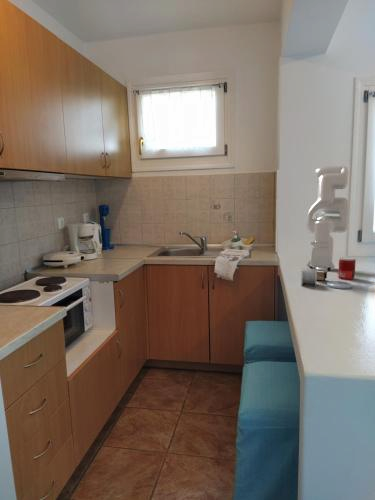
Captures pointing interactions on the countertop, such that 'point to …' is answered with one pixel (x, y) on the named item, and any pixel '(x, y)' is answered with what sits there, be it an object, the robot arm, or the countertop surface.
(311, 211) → the robot arm
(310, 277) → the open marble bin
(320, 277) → the block
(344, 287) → the dish
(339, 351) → the countertop surface
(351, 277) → the canned food
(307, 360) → the countertop surface
